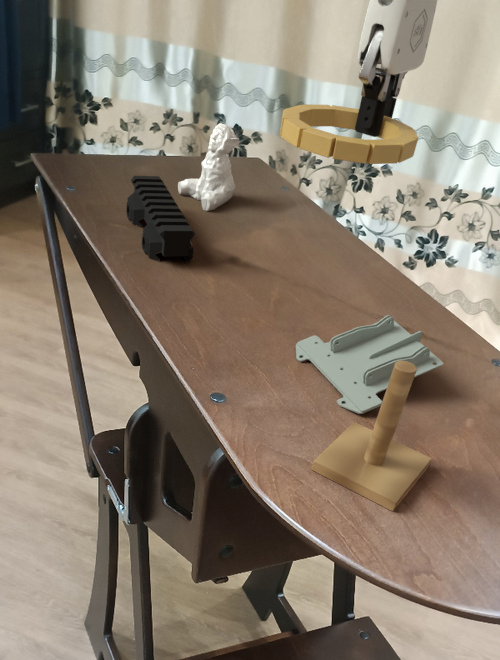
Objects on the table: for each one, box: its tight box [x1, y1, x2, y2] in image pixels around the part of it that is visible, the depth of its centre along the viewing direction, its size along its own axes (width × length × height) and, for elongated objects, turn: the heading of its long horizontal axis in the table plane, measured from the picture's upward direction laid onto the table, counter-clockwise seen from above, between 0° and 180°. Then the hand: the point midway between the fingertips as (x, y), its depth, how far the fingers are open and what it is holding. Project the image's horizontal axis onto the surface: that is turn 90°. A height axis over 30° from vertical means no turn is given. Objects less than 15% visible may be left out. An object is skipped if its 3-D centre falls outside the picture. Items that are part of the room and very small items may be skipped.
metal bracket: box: [295, 314, 444, 415], centre depth 85 cm, size 14×6×15 cm
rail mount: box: [125, 175, 196, 263], centre depth 107 cm, size 21×6×5 cm, turn 16°
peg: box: [311, 361, 432, 512], centre depth 68 cm, size 9×9×12 cm
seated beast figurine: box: [177, 122, 240, 212], centre depth 119 cm, size 10×9×12 cm
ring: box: [279, 103, 419, 165], centre depth 85 cm, size 16×16×2 cm
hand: (371, 131), depth 90 cm, fingers closed on ring, 2 cm apart
